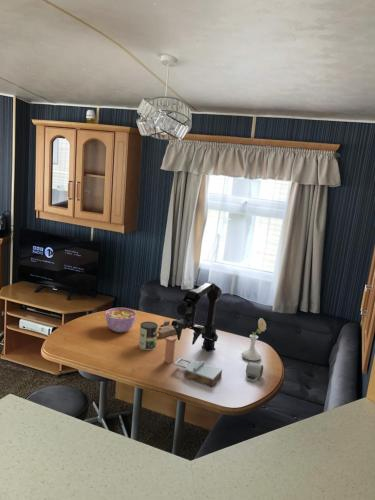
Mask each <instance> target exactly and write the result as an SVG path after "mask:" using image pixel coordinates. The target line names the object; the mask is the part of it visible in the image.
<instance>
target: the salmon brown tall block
mask: <svg viewBox="0 0 375 500" xmlns="http://www.w3.org/2000/svg"><path fill="white" fill-rule="evenodd" d="M176 341H177V338H175V337H174V336H173V335H172V336H167V337H165V351H164V362H166V364H171V363H173V362H174V359H175V358H174V357H175V347H176Z"/></svg>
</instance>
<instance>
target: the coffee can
mask: <svg viewBox="0 0 375 500" xmlns="http://www.w3.org/2000/svg"><path fill="white" fill-rule="evenodd" d="M139 326H140V328H139V343H138V347H139V349H141V350H144V351H153V350H155V349H156V348H157V335H158V328H159V327H158V324H157V323H156V322H154V321H143V322H141V323H140V325H139Z"/></svg>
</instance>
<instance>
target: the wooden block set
mask: <svg viewBox="0 0 375 500" xmlns="http://www.w3.org/2000/svg"><path fill="white" fill-rule="evenodd" d="M170 322H171V321H170V320H169V319H166V318H164V319H163V326H161V327H158V334H157V335H158V338H159V339H163V338H167V337H170V336H172V337H173V336H174V335H175V336H176V335H177V332H176V330H175V328H173V326H171V323H170Z"/></svg>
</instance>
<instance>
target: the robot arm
mask: <svg viewBox="0 0 375 500" xmlns="http://www.w3.org/2000/svg"><path fill="white" fill-rule="evenodd" d="M222 293H223V291H222V288H221V287H219V286H218V285H217V284H216V283H215V282H211V281H206V282H205V283H203V284H202V285H200V286H199V287H198V288H192V289H188V291H187V292H186V293H185V295H184V297H183V299H182V301H181V304H179V305H178V306H177V308H176V310H177V311H176V312H177V314H178V315H180V316H182V317H181V318H180V319H173V320H171V323H170V325H171V326H173V328H175V330H176V332H177V334H176V337H177V338H176V339H177V340H178V341H180V339H181V336H182V332H183V330H186V329H189V330H192V331H193V332H192V335H193V338H192V343H191V345H195V343H196V341H198V338H199V337H200V336H201V339H203V341H202V345H201V348H202V349H204V350H205V351H207V352H209V351H215V350H216V347H215V343H216V342H217V341H218V339H219V336H218V334H217V328H216V326H215V319H216V311H217V303H218V301H219V299H221V296H222ZM205 295H206V297H207V300H208V305H207V314H206V320H205V321H206V322H205V325H203V326H200V325H197V326H196V323H195V320H196V318H197V315H196V314H197V308H198V306H199V303H200V301H201V300H202V297H203V296H205Z"/></svg>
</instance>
